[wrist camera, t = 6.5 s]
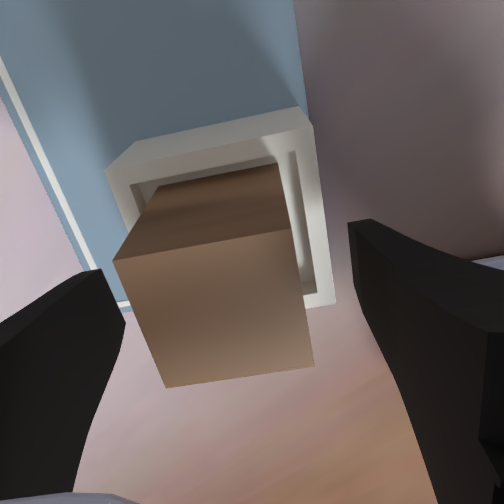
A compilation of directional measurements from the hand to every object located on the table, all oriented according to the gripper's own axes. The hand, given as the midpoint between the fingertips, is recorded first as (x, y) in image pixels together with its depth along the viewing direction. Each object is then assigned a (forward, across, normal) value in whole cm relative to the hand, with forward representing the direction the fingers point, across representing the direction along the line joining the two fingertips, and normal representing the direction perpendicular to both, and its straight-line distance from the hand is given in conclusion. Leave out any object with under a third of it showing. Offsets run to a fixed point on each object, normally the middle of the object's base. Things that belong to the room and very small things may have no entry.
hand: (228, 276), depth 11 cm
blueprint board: (+7, +2, -3) cm, 8 cm away
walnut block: (+3, 0, 0) cm, 3 cm away
